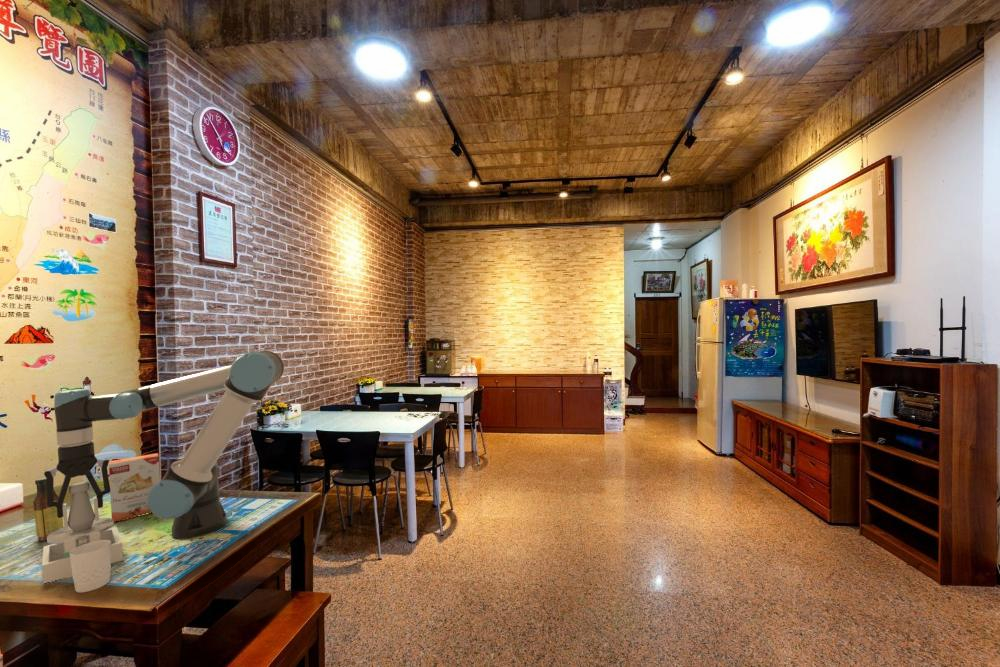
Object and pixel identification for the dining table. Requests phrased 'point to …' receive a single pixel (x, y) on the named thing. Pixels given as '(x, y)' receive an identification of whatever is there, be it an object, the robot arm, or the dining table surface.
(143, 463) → the cracker box
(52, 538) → the grey shiny rounded piece
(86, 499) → the salt shaker
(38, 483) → the sauce bottle
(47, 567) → the square open box
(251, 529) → the dining table surface
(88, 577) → the white cup
